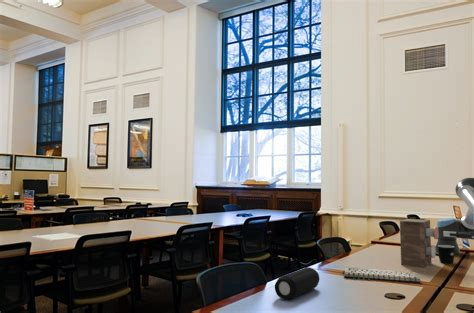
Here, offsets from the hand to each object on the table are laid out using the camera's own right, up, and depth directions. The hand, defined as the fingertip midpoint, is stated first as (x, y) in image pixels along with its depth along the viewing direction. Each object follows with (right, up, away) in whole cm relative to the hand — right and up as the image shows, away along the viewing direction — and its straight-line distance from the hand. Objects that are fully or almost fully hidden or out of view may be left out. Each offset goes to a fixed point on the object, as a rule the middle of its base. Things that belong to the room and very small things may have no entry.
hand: (443, 233), depth 223 cm
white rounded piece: (-9, -15, +6) cm, 18 cm away
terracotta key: (-7, -4, +6) cm, 10 cm away
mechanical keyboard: (-44, -19, -21) cm, 53 cm away
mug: (+9, -20, +12) cm, 25 cm away
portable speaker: (-92, -17, -51) cm, 106 cm away
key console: (-12, -20, +9) cm, 25 cm away
